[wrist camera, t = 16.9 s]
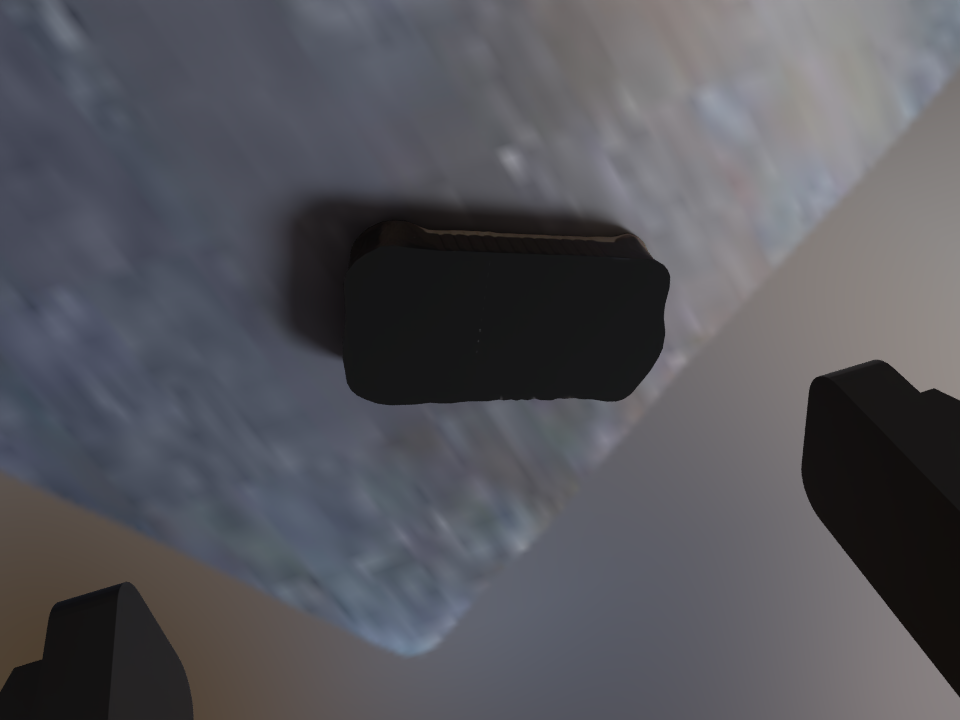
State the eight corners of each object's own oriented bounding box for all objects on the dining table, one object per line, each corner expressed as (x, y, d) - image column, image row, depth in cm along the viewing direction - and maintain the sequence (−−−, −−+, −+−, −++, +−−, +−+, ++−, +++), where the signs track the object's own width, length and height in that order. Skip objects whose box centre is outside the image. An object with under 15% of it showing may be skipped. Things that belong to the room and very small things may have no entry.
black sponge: (326, 363, 45) (337, 408, 42) (345, 208, 40) (358, 246, 37) (617, 364, 50) (644, 404, 47) (662, 228, 46) (695, 262, 43)
